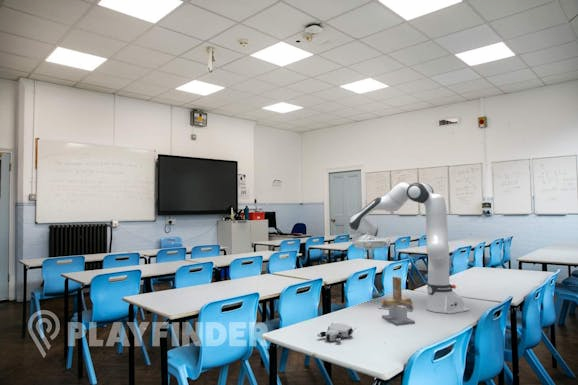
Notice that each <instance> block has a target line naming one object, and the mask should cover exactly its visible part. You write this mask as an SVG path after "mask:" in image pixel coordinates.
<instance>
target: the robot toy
mask: <svg viewBox="0 0 578 385" xmlns="http://www.w3.org/2000/svg"><path fill="white" fill-rule="evenodd" d="M356 329H357V327H354V329H353V327H352V326H350V325H349V324H346V323H339V322H338V323H334V322H331V323H330V325H328V327H327V331H321V332H319V333H317V335H316V336H317V337H318V338H324V337H325V341H330V342H336V341H337V342H340V341H342V337H343V338H348V337H349V336H350V335H352V334H353V333H354V331H355V330H356Z"/></svg>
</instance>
